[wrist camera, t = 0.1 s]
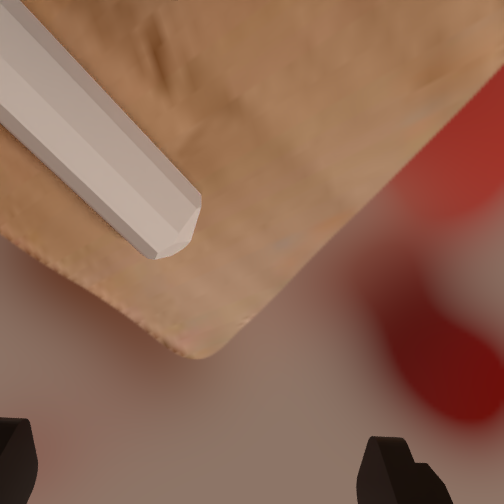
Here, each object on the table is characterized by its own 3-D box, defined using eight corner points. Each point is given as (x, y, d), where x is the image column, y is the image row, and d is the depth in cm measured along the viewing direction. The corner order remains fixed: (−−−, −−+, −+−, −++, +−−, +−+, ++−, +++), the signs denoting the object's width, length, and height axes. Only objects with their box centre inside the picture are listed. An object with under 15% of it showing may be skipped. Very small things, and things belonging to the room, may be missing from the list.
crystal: (233, 213, 35) (-25, -68, 26) (171, 279, 34) (-123, 5, 25) (205, 211, 42) (-8, -13, 33) (153, 265, 40) (-84, 46, 32)
